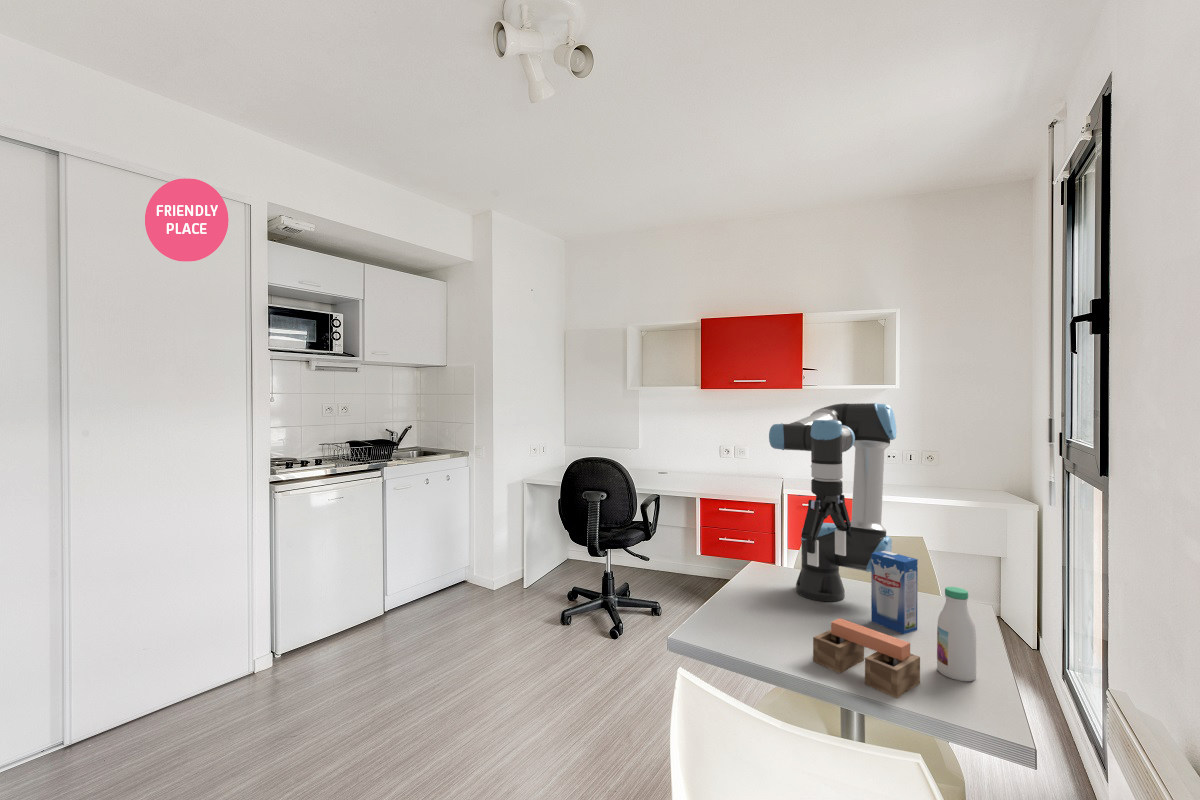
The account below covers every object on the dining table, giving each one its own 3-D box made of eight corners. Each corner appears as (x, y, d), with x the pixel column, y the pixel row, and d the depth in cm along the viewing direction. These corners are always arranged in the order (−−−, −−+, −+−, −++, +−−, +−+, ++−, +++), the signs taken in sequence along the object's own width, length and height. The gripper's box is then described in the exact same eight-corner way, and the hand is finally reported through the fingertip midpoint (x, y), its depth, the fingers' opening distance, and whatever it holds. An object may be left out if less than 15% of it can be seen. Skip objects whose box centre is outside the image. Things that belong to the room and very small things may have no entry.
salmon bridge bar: (831, 650, 133) (831, 621, 133) (839, 646, 136) (839, 618, 136) (901, 679, 120) (901, 647, 120) (910, 674, 122) (910, 642, 122)
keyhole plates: (837, 649, 138) (837, 626, 138) (919, 683, 121) (920, 656, 121) (813, 661, 131) (813, 637, 131) (896, 698, 115) (896, 670, 115)
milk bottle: (978, 673, 126) (978, 588, 126) (973, 686, 120) (973, 597, 120) (940, 662, 131) (940, 581, 131) (934, 674, 125) (934, 589, 125)
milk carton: (871, 621, 156) (871, 553, 156) (884, 617, 159) (884, 550, 159) (904, 634, 147) (904, 562, 147) (917, 630, 150) (917, 559, 150)
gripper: (837, 472, 149) (837, 547, 150) (786, 482, 134) (787, 566, 134) (864, 475, 144) (864, 553, 144) (814, 486, 128) (814, 574, 129)
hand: (827, 560), depth 139 cm, fingers open, 13 cm apart
